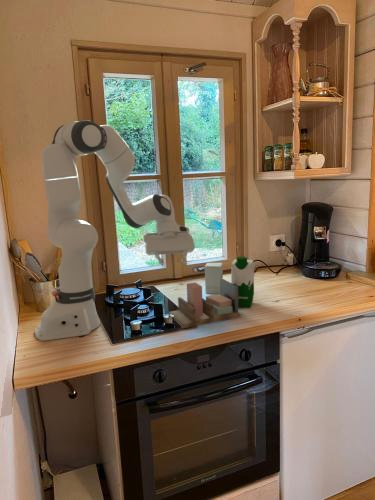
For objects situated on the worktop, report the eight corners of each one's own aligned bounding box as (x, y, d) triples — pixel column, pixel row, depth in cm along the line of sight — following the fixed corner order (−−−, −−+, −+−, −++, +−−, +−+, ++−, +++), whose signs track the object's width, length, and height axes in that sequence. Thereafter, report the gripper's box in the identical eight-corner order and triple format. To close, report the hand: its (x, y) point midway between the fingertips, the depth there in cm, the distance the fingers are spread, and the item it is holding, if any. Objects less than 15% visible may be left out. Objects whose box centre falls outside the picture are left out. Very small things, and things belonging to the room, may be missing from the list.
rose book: (194, 317, 137) (193, 287, 135) (187, 311, 143) (186, 283, 141) (202, 315, 139) (201, 286, 137) (196, 310, 144) (195, 282, 142)
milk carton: (230, 308, 150) (229, 258, 146) (233, 300, 159) (233, 253, 155) (252, 309, 148) (252, 259, 144) (255, 301, 156) (254, 254, 152)
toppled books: (217, 315, 139) (217, 303, 138) (205, 306, 148) (205, 295, 147) (233, 312, 141) (233, 300, 140) (220, 304, 151) (220, 293, 150)
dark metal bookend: (235, 312, 140) (235, 287, 139) (220, 303, 151) (219, 279, 149) (238, 312, 141) (238, 286, 139) (223, 302, 152) (222, 278, 150)
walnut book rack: (182, 328, 132) (181, 310, 131) (168, 315, 145) (168, 299, 143) (240, 316, 140) (240, 300, 139) (222, 305, 153) (222, 290, 152)
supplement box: (221, 294, 168) (221, 266, 166) (205, 293, 170) (204, 266, 167) (223, 289, 175) (222, 262, 173) (207, 288, 177) (206, 262, 174)
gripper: (144, 229, 151) (149, 261, 146) (192, 227, 158) (198, 258, 153) (141, 236, 156) (146, 267, 151) (188, 234, 163) (194, 264, 158)
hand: (173, 263), depth 152 cm, fingers open, 8 cm apart
